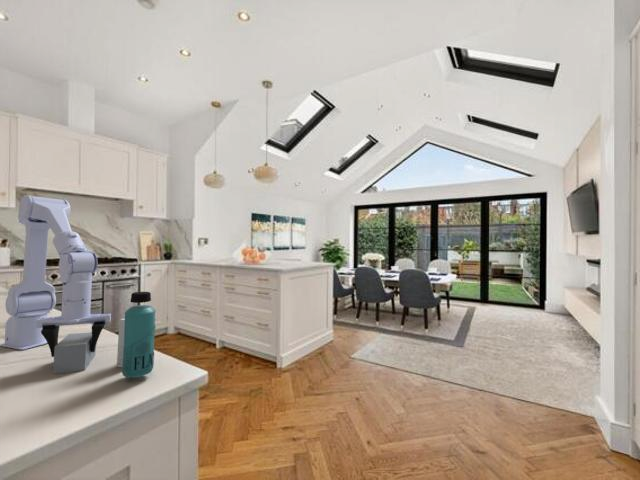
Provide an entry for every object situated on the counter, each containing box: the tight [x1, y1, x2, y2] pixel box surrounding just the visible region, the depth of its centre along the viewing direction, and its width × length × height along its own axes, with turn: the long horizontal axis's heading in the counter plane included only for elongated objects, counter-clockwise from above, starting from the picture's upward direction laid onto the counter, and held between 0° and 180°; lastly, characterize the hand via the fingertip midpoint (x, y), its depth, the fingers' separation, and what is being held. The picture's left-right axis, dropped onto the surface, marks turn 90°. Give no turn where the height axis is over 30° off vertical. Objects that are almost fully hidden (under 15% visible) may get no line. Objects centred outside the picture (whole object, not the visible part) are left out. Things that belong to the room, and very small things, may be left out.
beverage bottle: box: [121, 291, 157, 378], centre depth 70 cm, size 6×7×20 cm
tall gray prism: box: [52, 331, 97, 375], centre depth 76 cm, size 10×6×6 cm, turn 26°
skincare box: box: [116, 317, 125, 368], centre depth 78 cm, size 6×4×12 cm
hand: (74, 353), depth 76 cm, fingers open, 7 cm apart
